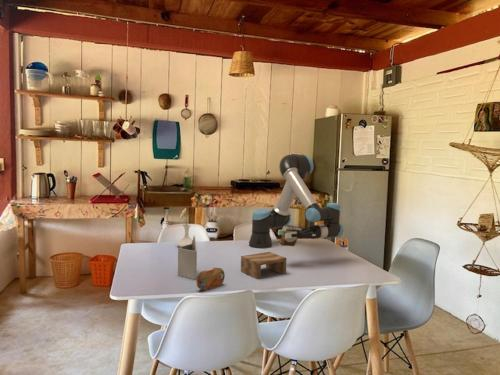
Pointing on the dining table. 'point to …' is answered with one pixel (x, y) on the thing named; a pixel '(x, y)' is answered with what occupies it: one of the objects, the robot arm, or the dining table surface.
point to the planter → (187, 260)
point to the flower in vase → (186, 239)
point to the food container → (289, 241)
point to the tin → (210, 278)
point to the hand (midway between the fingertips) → (281, 234)
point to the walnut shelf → (262, 263)
